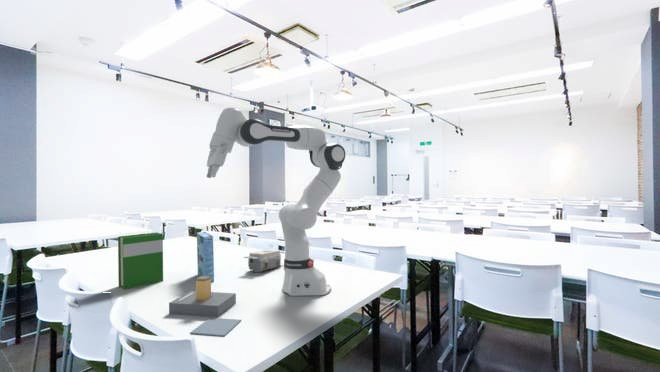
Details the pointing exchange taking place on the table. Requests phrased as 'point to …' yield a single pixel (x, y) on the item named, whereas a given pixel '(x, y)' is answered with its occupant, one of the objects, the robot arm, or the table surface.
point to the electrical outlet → (264, 260)
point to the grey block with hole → (202, 304)
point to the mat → (216, 327)
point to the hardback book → (140, 259)
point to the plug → (203, 288)
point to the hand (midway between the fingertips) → (210, 177)
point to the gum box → (205, 255)
